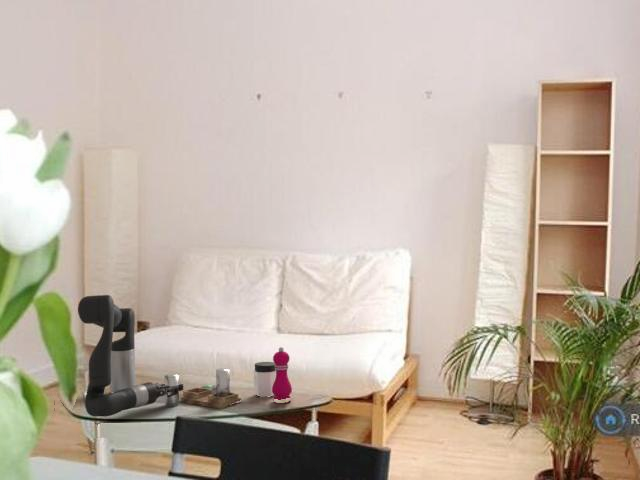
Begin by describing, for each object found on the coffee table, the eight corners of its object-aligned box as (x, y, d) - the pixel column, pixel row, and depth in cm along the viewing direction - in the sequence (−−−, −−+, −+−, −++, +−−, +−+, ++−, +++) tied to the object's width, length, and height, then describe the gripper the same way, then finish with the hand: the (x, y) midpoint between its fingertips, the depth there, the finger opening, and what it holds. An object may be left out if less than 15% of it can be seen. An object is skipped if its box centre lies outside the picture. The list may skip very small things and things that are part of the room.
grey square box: (197, 394, 275) (197, 387, 275) (208, 391, 280) (208, 384, 280) (208, 396, 271) (208, 389, 271) (219, 393, 276) (219, 386, 276)
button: (203, 393, 275) (202, 386, 275) (208, 392, 278) (208, 384, 278) (208, 394, 273) (208, 387, 273) (214, 393, 276) (213, 385, 276)
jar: (280, 396, 270) (279, 364, 270) (260, 398, 266) (259, 366, 266) (271, 391, 278) (270, 360, 278) (251, 393, 275) (251, 362, 274)
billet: (162, 405, 259) (161, 375, 258) (172, 403, 263) (171, 373, 262) (171, 407, 256) (171, 377, 255) (182, 404, 260) (181, 374, 260)
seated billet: (213, 400, 259) (212, 370, 258) (223, 397, 263) (222, 367, 263) (223, 402, 256) (223, 371, 256) (233, 399, 260) (232, 369, 260)
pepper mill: (289, 404, 257) (288, 349, 257) (270, 403, 258) (268, 348, 258) (294, 399, 264) (293, 345, 264) (275, 399, 265) (274, 345, 265)
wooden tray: (179, 401, 265) (179, 392, 265) (201, 395, 274) (201, 386, 274) (220, 408, 253) (220, 399, 252) (241, 402, 261) (241, 392, 261)
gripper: (154, 386, 243) (190, 377, 257) (126, 382, 252) (163, 373, 265) (154, 408, 243) (191, 398, 257) (127, 403, 252) (164, 393, 265)
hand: (177, 386), depth 261 cm, fingers closed on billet, 5 cm apart
